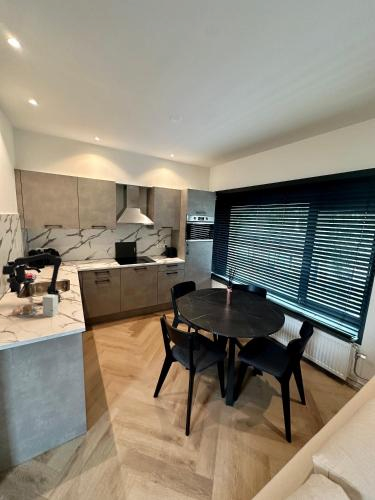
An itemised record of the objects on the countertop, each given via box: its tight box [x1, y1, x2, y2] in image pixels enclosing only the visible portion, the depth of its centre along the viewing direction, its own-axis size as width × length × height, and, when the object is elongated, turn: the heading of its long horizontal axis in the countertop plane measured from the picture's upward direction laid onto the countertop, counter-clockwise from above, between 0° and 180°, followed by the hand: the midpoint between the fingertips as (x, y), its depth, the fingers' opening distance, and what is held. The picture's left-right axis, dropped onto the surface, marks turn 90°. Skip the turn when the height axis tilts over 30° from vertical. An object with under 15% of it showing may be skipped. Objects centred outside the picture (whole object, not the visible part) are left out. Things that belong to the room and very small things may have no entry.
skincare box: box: [42, 293, 59, 318], centre depth 154 cm, size 8×6×15 cm
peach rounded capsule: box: [17, 305, 25, 314], centre depth 158 cm, size 4×4×4 cm
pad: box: [16, 310, 39, 319], centre depth 154 cm, size 9×9×1 cm
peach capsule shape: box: [12, 307, 21, 317], centre depth 153 cm, size 4×4×4 cm
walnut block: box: [22, 304, 33, 315], centre depth 153 cm, size 4×4×6 cm
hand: (22, 292), depth 164 cm, fingers open, 9 cm apart
